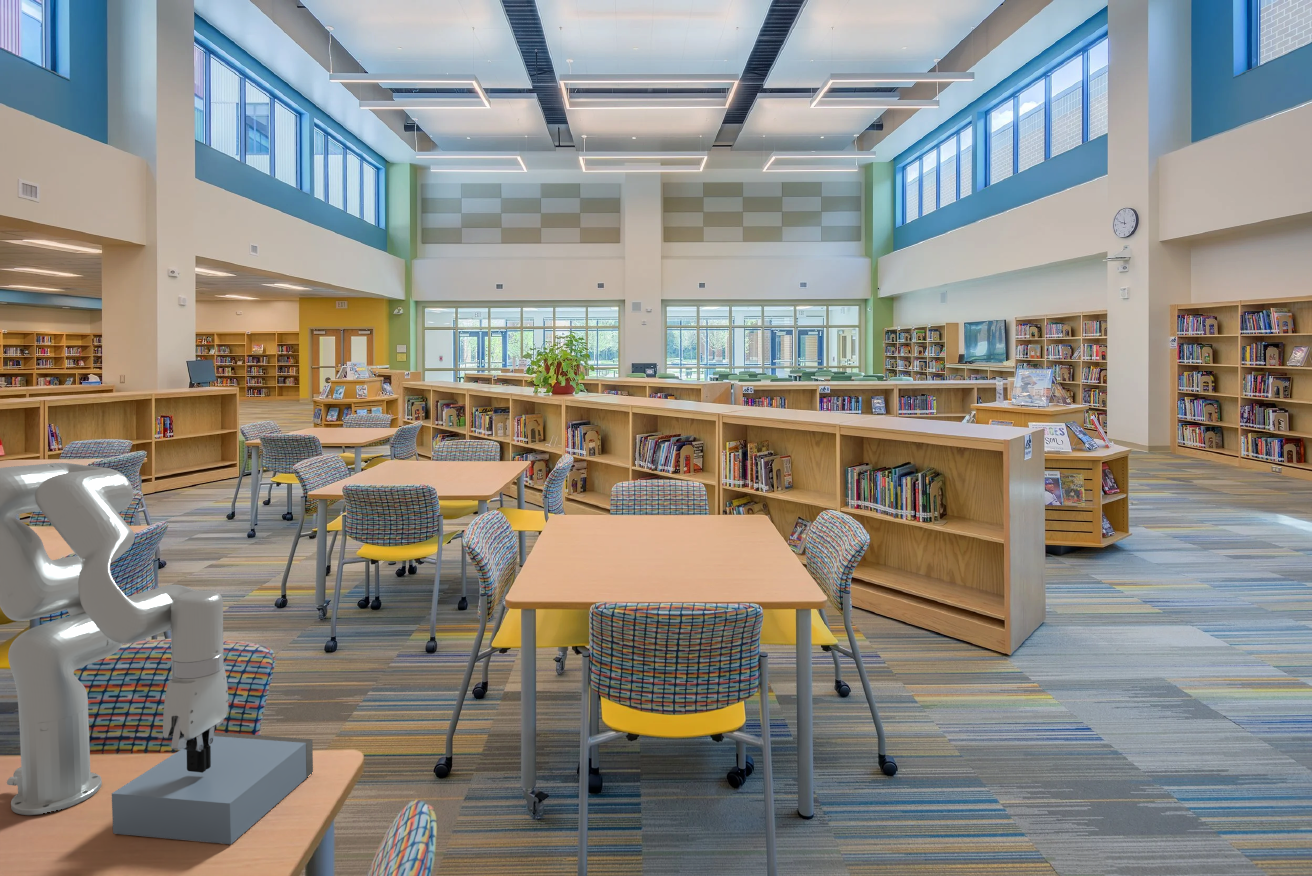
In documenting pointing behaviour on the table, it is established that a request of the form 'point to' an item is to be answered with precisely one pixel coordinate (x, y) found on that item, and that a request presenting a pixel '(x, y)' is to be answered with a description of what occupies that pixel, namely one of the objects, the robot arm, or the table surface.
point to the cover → (210, 791)
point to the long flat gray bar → (308, 741)
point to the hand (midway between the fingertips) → (198, 769)
